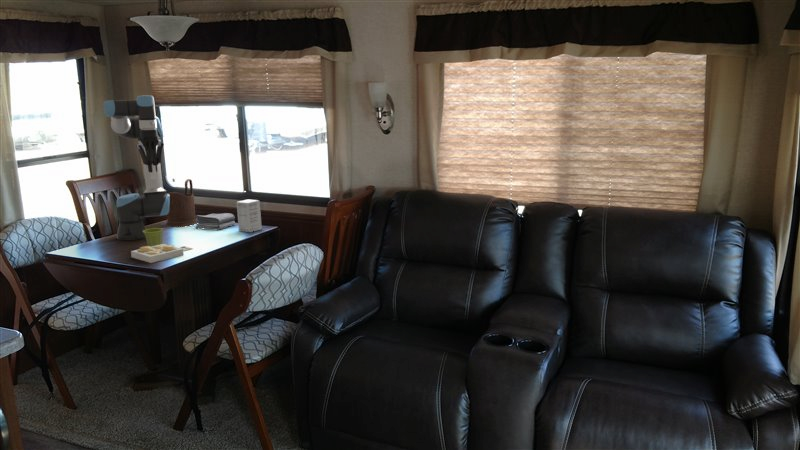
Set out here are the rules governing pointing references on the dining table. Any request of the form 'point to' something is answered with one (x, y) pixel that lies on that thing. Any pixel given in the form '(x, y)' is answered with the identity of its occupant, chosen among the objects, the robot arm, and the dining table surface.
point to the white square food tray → (156, 257)
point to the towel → (215, 221)
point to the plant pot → (153, 236)
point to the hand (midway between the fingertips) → (153, 178)
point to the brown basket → (181, 208)
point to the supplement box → (249, 215)
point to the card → (185, 248)
